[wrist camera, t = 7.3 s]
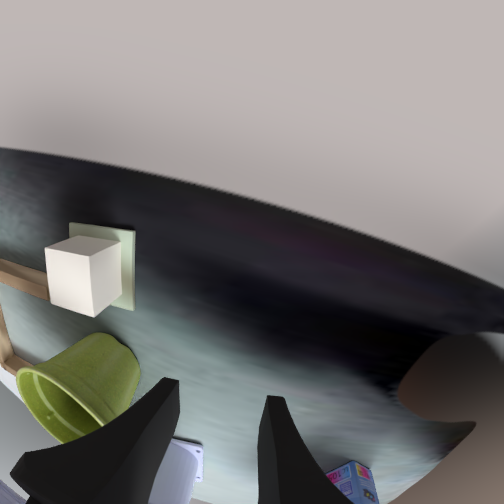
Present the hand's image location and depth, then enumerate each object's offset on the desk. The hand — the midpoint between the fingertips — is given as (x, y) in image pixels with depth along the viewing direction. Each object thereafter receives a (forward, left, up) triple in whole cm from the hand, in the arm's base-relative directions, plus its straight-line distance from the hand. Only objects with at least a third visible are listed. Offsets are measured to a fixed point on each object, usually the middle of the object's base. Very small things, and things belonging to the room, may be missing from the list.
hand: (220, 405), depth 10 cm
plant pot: (-8, +11, -10) cm, 17 cm away
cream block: (+2, +11, -9) cm, 14 cm away
